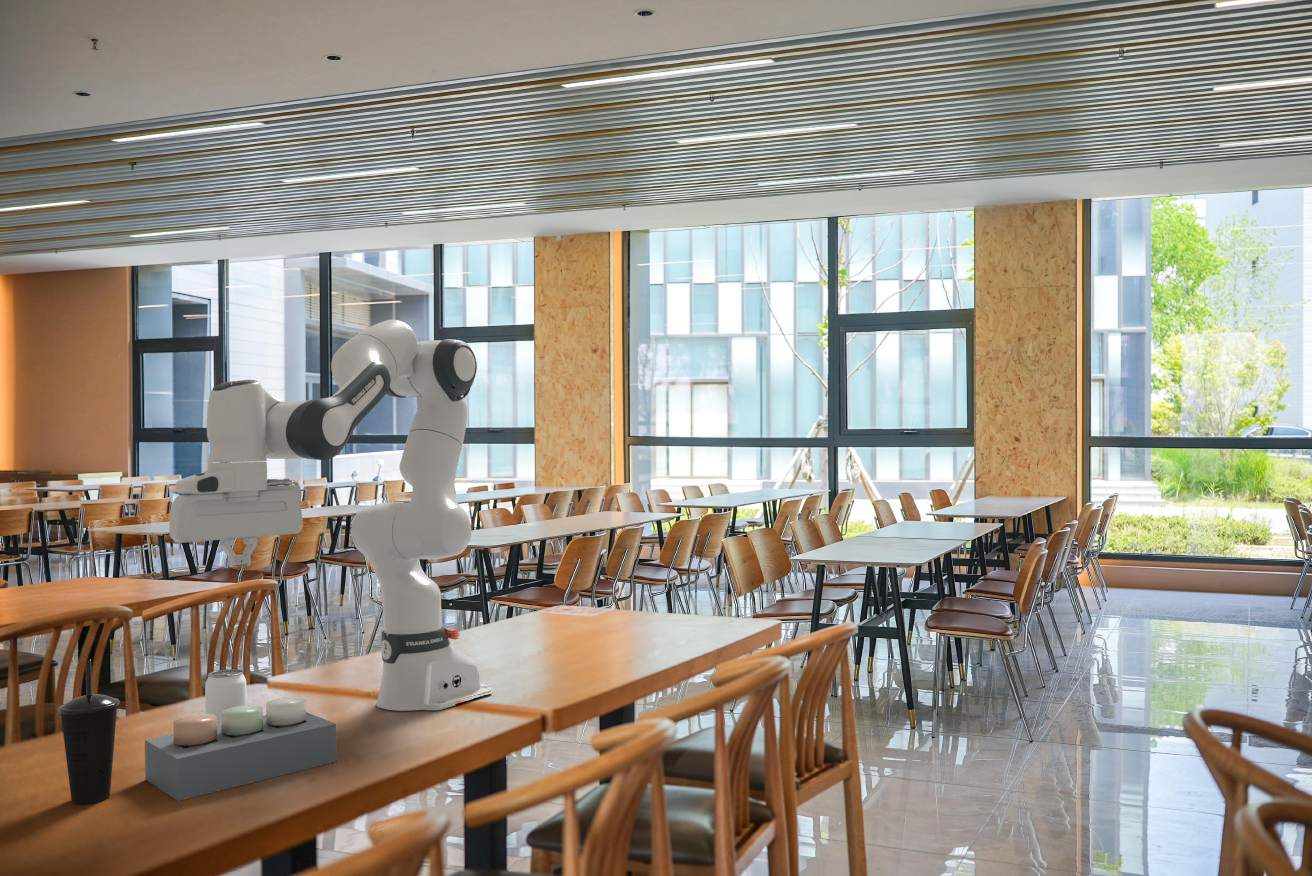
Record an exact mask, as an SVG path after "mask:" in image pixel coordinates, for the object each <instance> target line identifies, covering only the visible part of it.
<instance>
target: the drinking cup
mask: <svg viewBox="0 0 1312 876" xmlns="http://www.w3.org/2000/svg"><path fill="white" fill-rule="evenodd" d="M92 689H93V687H92V659H89V658H88V659H85V690H86V691H85V693H86V694H85V695H81V696H78V697H75V698H72V699H70V700H68V701H67V702H66V703H64V704H61V705H59V706H58V709H57V710H58V713H59V714H60V717H61V718H60V719H61V727H62V734H63V741H64V750H65V758H66V766H67V775H68V783H69V791H70V798H71V799H70V800H71V803H72V804H73V805H81V806H83V805H91V804H96V803H100V802H102V801H105V800H107V799H109V798H110V796H111V790H112V789H111V787H112V775H113V762H114V750H115V736H116V726H117V725H116V723H117V713H118V706H119V705H120V700H119V699H118V698H117V697H116V698H115V697H112V696H109V695H106V694H98V693H97V694H96V693H93V692H92V691H93V690H92ZM92 693H93V694H92ZM108 797H109V798H108Z"/></svg>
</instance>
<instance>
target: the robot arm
mask: <svg viewBox="0 0 1312 876" xmlns="http://www.w3.org/2000/svg"><path fill="white" fill-rule="evenodd" d="M331 358H332V359H331V363H330V364H331V366H330V367H331V374H332V377H333V379H334V382H335V384H336V385H337V386H338V388H339V389H338V390H337V391H336V392H335V393H334V394H333V395H332V396H329V397H324V398H313V399H310V400H309V399H308V400H295V401H294V400H293V401H283V400H282V399H279V398H277V397H275V396H274V395H272V394H271V393H269V392H268V391H267V390H266V389H265V388H263V386H262V384H261V382H260V381H259V380H255V379H243V380H242V379H241V380H240V379H239V380H234V381H233V380H232V381H227V382H221V383H218V384H216V385H215V386H214V387H212V389H211V390H210V392H209V396H208V402H207V410H206V437H207V440H208V443H209V453H208V456H207V469H206V470H205V471H203V472H199V473H197V474H193V475H190V476H186V477H184V478H181V479H178V480H177V481H176V483H175V491H176V492H177V493H178V494H179V495H178V496H176V497H175V498H174V499H173V501H172V504H171V508H170V514H169V529H168V530H169V537H170V538H171V539H172V540H173V541H174V542H176V543H182V544H183V543H195V542H208V541H219V540H220V541H219V542H220V547H221V549H222V550H223V552H224V554H225V555H226V557H227V562H228V563H227V566H228V567H229V568H240V567H250V566H251V565H252V564H251V563H252V561H251V555H252V554H253V553H254V551H255V549H256V547H257V545H258V537H271V536H273V537H274V536H282V535H283V536H285V535H296V534H299V533H300V532H301V531H302V529H303V528H304V521H303V520H304V519H303V512H302V506H301V502H300V501H301V498H302V489H301V485H300V484H299V483H298V482H297V481H296V480H293V479H292V478H283V479H279V478H269V479H268V463H267V461H268V460H267V459H269V460H271V459H272V460H274V459H277V460H281V459H284V460H290V459H292V460H293V459H294V460H295V459H296V460H297V459H299V460H300V459H308V460H316V461H327V460H330V459H333V458H335V457H336V456H338V455H339V454H340V453H341V452H342V451H343V449H344V448H345V446H346V445H347V443H348V441H349V439H350V438H351V436H352V433H353V431H354V430H355V429H356V427H357V426H358V424H360V423H361V422H362V420H363V419H364V418H365V417H367V415H368V414H369V413H370V412H371V411H372V410H373V409H374V408H375V407H376V406H377V405H378V404H379V402H380V401H381V400H382V399H383V398H384V396H385V395H387V396H389V397H394V398H399V399H400V398H401V399H403V398H409V397H410V398H416V405H417V406H416V407H417V408H416V412H415V414H414V417H413V419H412V422H411V425H410V428H409V432H408V434H407V438H406V442H405V444H404V448H403V452H402V455H401V459H400V463H399V472H400V474H401V476H402V478H403V480H404V481H405V482H406V483H407V484H409V485H410V486H411V487H412V494H411V498H410V501H409V502H381V503H376V504H371V505H368V506H366V507H365V506H364V507H363V508H361V509H360V510H358V511H357V512H356V514H355V516H354V518H353V520H352V523H351V527H350V537H351V540H352V543H353V545H354V547H355V549H356V550H357V551H359V552H360V553H361V554H362V555H363V556H364V557H365V558H366V559H367V560H368V562H369V564H370V566H371V567H372V570H373V572H374V574H375V577H376V579H377V581H378V585H379V588H380V593H381V601H382V619H383V620H382V622H383V624H382V625H383V630H382V631H381V634H380V635H381V641H380V644H381V659H382V674H381V681H380V688H379V691H378V692H379V693H378V695H377V696H378V697H377V701H376V704H375V705H376V706H377V708H380V709H382V710H383V709H384V710H388V711H399V712H400V711H403V712H404V711H406V712H407V711H440V710H443V709H448V708H451V707H454V706H456V705H455V704H456V702H457V701H458V700H461V699H465V698H469V697H472V696H476V695H481V694H485V693H489V692H491V691H493V690H492V688H491V686H489V685H487V684H485V683H483V682H482V683H481V678H480V673H479V669H478V666H477V664H476V663H475V662H474V661H473V660H472V659H471V658H470V657H468V656H467V655H465V654H464V653H462V652H461V651H459V650H458V649H456V648H455V647H454V646H452V645H451V642H450V640H449V639H452V640H453V641H455V640H458V639H459V637H460V636H461V632H460V630H459V629H456V628H449V629H447V628H445V627H443V626H442V596H441V595H442V593H441V590H440V587H439V585H438V584H437V583H436V582H435V581H434V580H432V579H431V578H430V577H429V576H428V575H427V574H426V573H425V572H424V570H423V568H422V566H421V562H420V560H441V559H447V558H452V557H455V556H459V555H461V554H462V553H463V552H464V551H465V550H466V548H467V547H468V545H469V543H470V542H471V537H472V524H471V521H470V517H469V515H468V513H466V511H465V510H464V509H463V508H462V506H461V505H460V504H459V502H458V499H457V497H456V496H457V495H456V491H455V487H456V486H455V483H456V482H455V481H456V475H457V471H458V466H459V461H460V457H461V452H462V449H463V445H464V440H465V435H466V427H467V420H468V408H467V407H468V406H467V403H466V401H465V398H466V397H467V396H468V395H469V393H470V391H471V389H472V388H471V387H472V386H473V384H474V381H475V378H476V374H477V369H478V364H477V358H476V355H475V353H474V351H473V349H472V347H470V345H469V344H468V343H466V342H465V341H462V340H460V339H459V340H458V339H453V338H445V339H443V340H438V339H437V340H431V339H430V340H421V341H420V340H418V336H417V334H416V333H415V330H413V328H412V327H410V326H409V325H408V324H407V323H405V322H404V321H401V320H398V319H386V320H384V321H381V322H378V323H375V324H373V325H371V326H369V327H367V328H364V330H361V331H360V332H359V333H358V334H355V335H354V336H353V337H351V338H350V339H348V340H347V341H346V342H345V343H343V344H342V345H340V347H339V348H338V349H337V350H336V351H335V353H334V354H333V356H332V357H331ZM235 539H243V544H245V545H246V546H245V547H244V550H243V552H242V554H236V553H235V551H234V550H233V548H232V546H233V547H234V546H235Z"/></svg>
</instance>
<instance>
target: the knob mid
mask: <svg viewBox="0 0 1312 876" xmlns="http://www.w3.org/2000/svg"><path fill="white" fill-rule="evenodd" d="M263 710H264V708H263V706H261V705H254V704H252V705H251V704H250V705H249V704H247V705H245V706H237V707H232V708H228V709H225V710H223V711H222V712H221V733H222V734H225V735H236V737H240V736H245V735H249V733H253V732H256V731H259V730H261V729H262V728H263V716H264V711H263Z"/></svg>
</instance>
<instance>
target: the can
mask: <svg viewBox="0 0 1312 876" xmlns="http://www.w3.org/2000/svg"><path fill="white" fill-rule="evenodd" d="M204 686H205V687H204V691H205V692H204V694H205V695H204V698H205V699H204V700H205V701H204V703H205V704H204V705H205V706H204V707H205V709H204V710H205V714H212V715H216V716H217V725H220V724H221V712H222V711H223V710H225V709H228V708H232V707H237V706H245V705H248V702H247V701H248V695H247V692H248V691H247V679H246V677H245V675H244V670H243V669H239V668H238V669H237V668H235V669H234V668H231V669H221V670H216V671H211V672H209V673H208V674H207V680H206V681H205V684H204Z"/></svg>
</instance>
